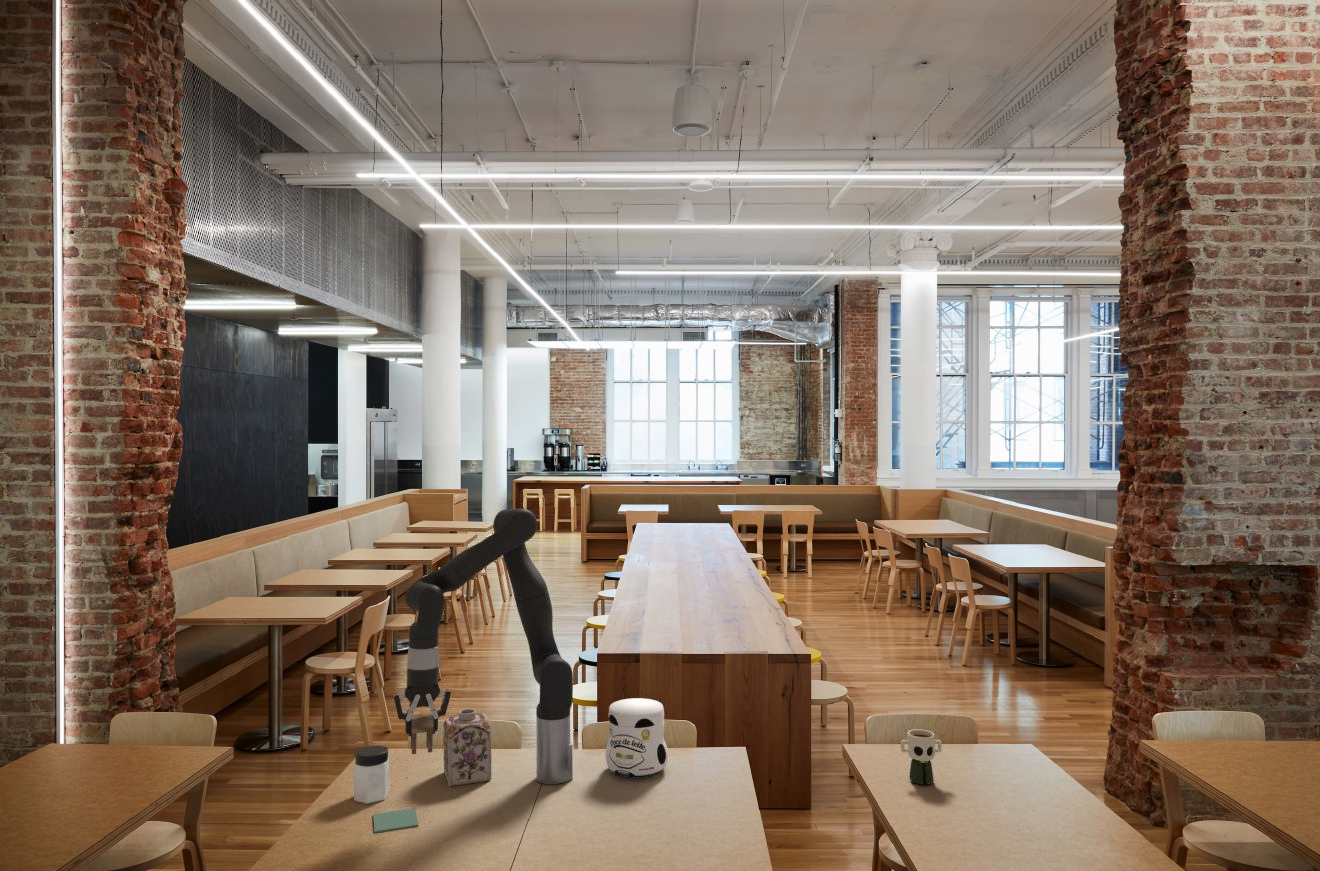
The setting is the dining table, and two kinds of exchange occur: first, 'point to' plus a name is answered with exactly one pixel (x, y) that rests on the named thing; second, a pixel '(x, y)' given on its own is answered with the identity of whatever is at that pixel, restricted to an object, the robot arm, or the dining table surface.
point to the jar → (371, 774)
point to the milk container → (636, 738)
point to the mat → (395, 820)
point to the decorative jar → (467, 748)
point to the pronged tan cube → (422, 730)
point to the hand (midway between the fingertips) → (421, 733)
